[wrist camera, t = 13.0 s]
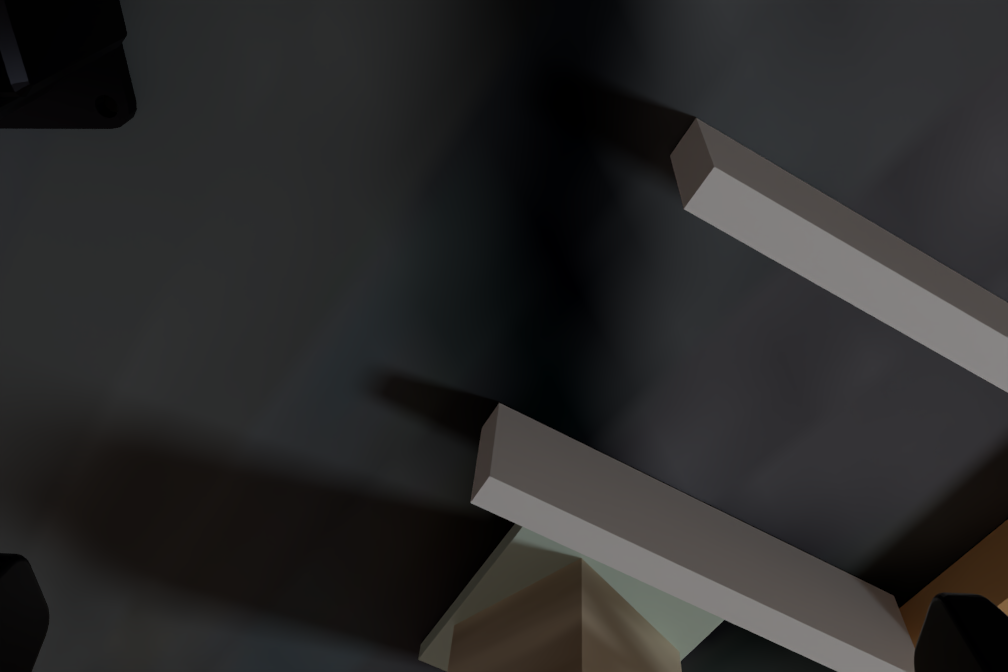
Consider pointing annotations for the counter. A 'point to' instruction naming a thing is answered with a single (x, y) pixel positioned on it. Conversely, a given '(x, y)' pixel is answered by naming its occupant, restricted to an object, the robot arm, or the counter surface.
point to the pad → (537, 557)
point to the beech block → (561, 631)
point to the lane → (704, 529)
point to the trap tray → (966, 580)
